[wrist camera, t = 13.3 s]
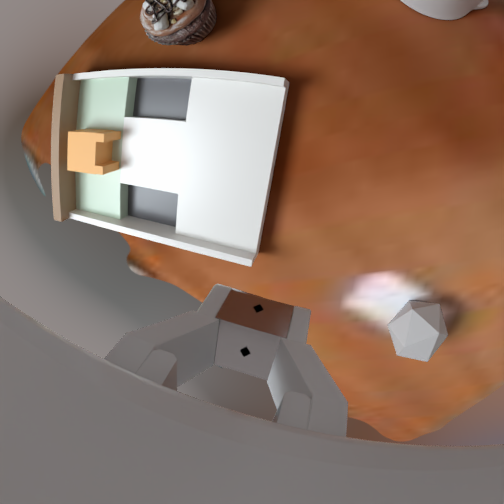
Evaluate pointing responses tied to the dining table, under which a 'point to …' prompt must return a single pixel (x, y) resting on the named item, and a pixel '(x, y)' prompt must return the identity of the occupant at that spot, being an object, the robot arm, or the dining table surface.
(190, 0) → the cupcake
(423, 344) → the die
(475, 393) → the dining table surface
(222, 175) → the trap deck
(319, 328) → the dining table surface
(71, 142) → the block
